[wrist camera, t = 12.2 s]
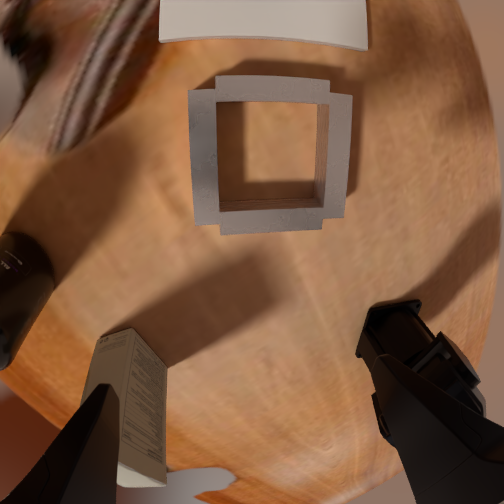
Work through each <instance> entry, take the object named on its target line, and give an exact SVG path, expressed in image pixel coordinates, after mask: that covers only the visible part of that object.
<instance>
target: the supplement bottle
mask: <svg viewBox="0 0 504 504" xmlns="http://www.w3.org/2000/svg"><path fill="white" fill-rule="evenodd" d="M53 289H54V272H53V268H52V265H51V262H50V260H49V258H48V256H47V254H46V253H45V251H44V250H43V249H42V247H41V246H40V245H39V244H38V243H37V242H36V241H35V240H33V239H32V238H31V237H29V236H27V235H25V234H23V233H19V232H9V233H5V234H3V235H2V236H0V371H1V370H4V369H6V368H7V367H8V366H10V364H11V363H12V361H13V360H14V358H15V356H16V354H17V352H18V351H19V349H20V347H21V345H22V343H23V341H24V340H25V338H26V336H27V334H28V333H29V331H30V329H31V327H32V326H33V324H34V322H35V321H36V319H37V317H38V316H39V314H40V312H41V311H42V309H43V308H44V306H45V304H46V303H47V301H48V299H49V298H50V296H51V294H52V292H53Z"/></svg>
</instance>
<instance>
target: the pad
mask: <svg viewBox="0 0 504 504" xmlns="http://www.w3.org/2000/svg"><path fill="white" fill-rule="evenodd" d="M224 38H246V39H272V40H286V41H297V42H306V43H314V44H322V45H328V46H335V47H341V48H346V49H352V50H357V51H361V52H363V51H367V50H368V34H367V13H366V0H160V22H159V41H160V42H161V43H165V42H174V41H185V40H199V39H224Z"/></svg>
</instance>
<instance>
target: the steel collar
mask: <svg viewBox="0 0 504 504" xmlns="http://www.w3.org/2000/svg"><path fill="white" fill-rule="evenodd" d="M352 98H353V95H347V94H339V93H331V92H330V80H322V79H312V78H300V77H286V76H261V75H226V76H215V89H200V90H188V114H189V140H190V159H191V176H192V191H193V205H194V217H195V226H198V225H213V224H219V226H220V234H221V235H233V234H249V233H265V232H282V231H300V230H319V229H322V220H323V219H326V218H344V210H345V201H346V191H347V181H348V169H349V157H350V142H351V124H352ZM216 102H292V103H309V104H318V112H317V142H316V163H315V181H314V196H313V198H293V199H265V200H243V201H225V202H219V191H218V164H217V131H216Z"/></svg>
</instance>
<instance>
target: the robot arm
mask: <svg viewBox="0 0 504 504" xmlns="http://www.w3.org/2000/svg"><path fill="white" fill-rule="evenodd" d="M421 305H422V302H421V301H420V300H412V301H407V302H402V303H397V304H392V305H386V306H381V307H375V308H371V309H370V310H369V311H368V313H367V316H366V320H365V323H364V327H363V330H362V332H361V336H360V339H359V342H358V345H357V349H356V353H355V355H356V357H357V358H363V360H364V362H365V363H366V365H367V367H368V369H369V371H370V373H371V377H372V380H373V384H374V387H375V390H376V392H374V393H373V394H372V395H371V396H372V400H373V405H374V409H375V413H376V417H377V421H378V425H379V430H380V433H381V435H382V436H383V438H384V439H386V440H387V441H388V442H389V443H390V444H391V445H392V446H393V447H395V448H396V449H397V451H398V454H399V456H400V459H401V461H402V464H403V467H404V469H405V472H406V475H407V478H408V480H409V483H410V486H411V489H412V491H413V494H414V496H415V500H416V503H417V504H504V427H502V426H500V425H498V424H496V423H494V422H492V421H490V420H488V419H487V418H486V403H485V399H484V397H483V395H482V394H481V392H480V391H479V390H478V388H477V387H476V386H477V385H478V384H479V383H480V382H481V381H480V379H479V377H478V375H477V374H476V372H475V370H474V368H473V367H472V365H471V363H470V362H469V360H468V359H467V357H466V356H465V355H464V354H463V352H462V351H461V350H460V349H459V348H458V346H457V345H456V344H455V343H454V342H453V341H451V340H450V339H449V338H448V337H447V336H446V335H445V334H443V333H442V332H441V331H440V332H439V333H438V334H437V335H436V336H437V337H435V336H434V335H433V333H432V332H431V331H430V330H429V328H428V327H427V326H426V325H425V323H424V322H423V321H422V320H421V319H420V317H419V316H418V313H419V311H420V308H421ZM119 446H120V401H119V397H118V395H117V394H116V392H115V390H114V388H113V386H112V385H111V384H109V383H99V384H98V385H97V386H96V387H95V389H94V390H93V391H92V392H91V394H90V395H89V396H88V397H87V399H86V400H85V401H84V402H83V404H82V405H81V406H80V407H79V409H78V410H77V411H76V412H75V414H74V415H73V416H72V418H71V419H70V420H69V421H68V423H67V424H66V425H65V427H64V428H63V429H62V430H61V432H60V433H59V434H58V436H57V437H56V438H55V440H54V441H53V442H52V443H51V445H50V446H49V447H48V449H47V450H46V452H45V453H44V455H42V457H41V458H40V459H39V461H38V462H37V463H36V464H35V466H34V467H33V468H32V469H31V471H30V472H29V473H28V474H27V475H26V476H25V478H24V479H23V480H22V481H21V482H20V483H19V484H18V485H17V486H16V487H15V488H14V489H13V490H12V491H11V492H10V493H9V495H8V496H7V497H5V498H4V499H3V500H2V501H1V502H0V504H116V487H117V471H118V457H119Z"/></svg>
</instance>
